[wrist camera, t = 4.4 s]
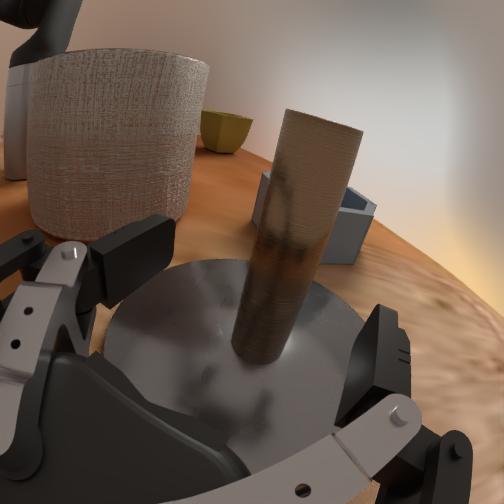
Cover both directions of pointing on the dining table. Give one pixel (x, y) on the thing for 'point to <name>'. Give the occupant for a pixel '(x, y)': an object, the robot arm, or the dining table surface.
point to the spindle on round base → (255, 314)
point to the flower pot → (223, 131)
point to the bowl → (336, 224)
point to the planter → (111, 138)
